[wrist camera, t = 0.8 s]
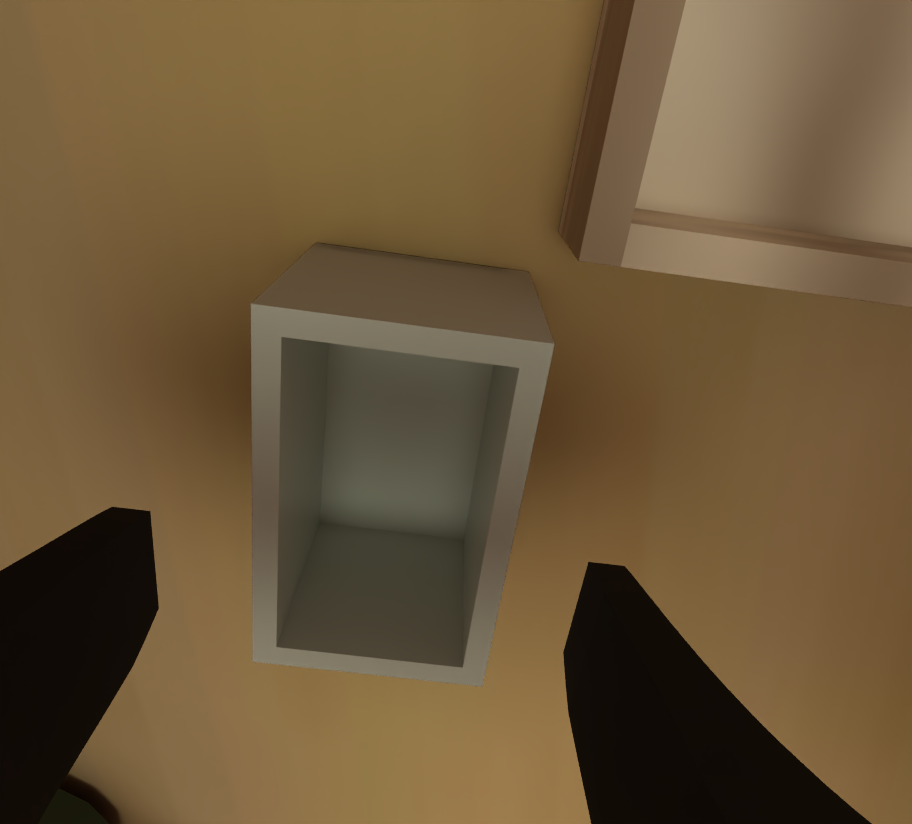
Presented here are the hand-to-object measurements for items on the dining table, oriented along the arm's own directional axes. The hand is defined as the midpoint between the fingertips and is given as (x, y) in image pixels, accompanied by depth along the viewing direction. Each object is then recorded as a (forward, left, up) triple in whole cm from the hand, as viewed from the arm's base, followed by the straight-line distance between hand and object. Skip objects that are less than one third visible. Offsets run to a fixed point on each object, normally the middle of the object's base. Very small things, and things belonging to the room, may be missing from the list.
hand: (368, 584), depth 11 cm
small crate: (0, 0, -7) cm, 7 cm away
